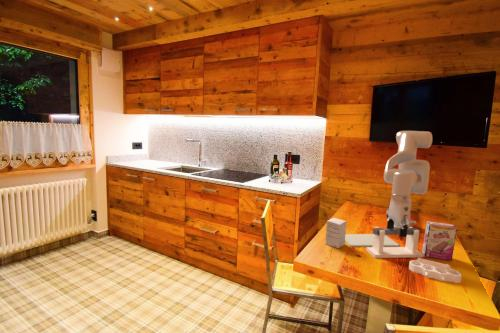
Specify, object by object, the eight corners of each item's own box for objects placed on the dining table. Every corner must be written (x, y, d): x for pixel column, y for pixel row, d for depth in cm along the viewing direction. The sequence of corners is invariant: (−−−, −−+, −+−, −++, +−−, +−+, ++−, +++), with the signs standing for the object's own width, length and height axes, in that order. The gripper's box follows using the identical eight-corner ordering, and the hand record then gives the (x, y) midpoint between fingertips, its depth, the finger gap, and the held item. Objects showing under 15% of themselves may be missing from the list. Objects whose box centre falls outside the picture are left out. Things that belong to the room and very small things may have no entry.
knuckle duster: (457, 272, 116) (462, 289, 103) (409, 260, 125) (408, 274, 112) (458, 264, 115) (464, 281, 103) (409, 253, 124) (409, 267, 112)
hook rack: (411, 249, 136) (414, 225, 134) (423, 257, 128) (426, 232, 126) (365, 250, 133) (368, 225, 132) (374, 257, 126) (377, 232, 124)
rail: (415, 232, 131) (416, 228, 131) (419, 234, 129) (420, 230, 129) (372, 233, 129) (373, 228, 129) (375, 235, 127) (376, 230, 127)
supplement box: (331, 240, 144) (333, 217, 143) (345, 244, 139) (347, 221, 137) (324, 243, 139) (326, 220, 137) (338, 248, 134) (340, 224, 132)
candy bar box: (424, 257, 128) (429, 224, 125) (421, 252, 132) (426, 220, 130) (452, 261, 124) (457, 227, 122) (448, 257, 129) (453, 224, 127)
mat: (383, 235, 153) (383, 234, 153) (399, 246, 139) (399, 244, 139) (339, 235, 151) (339, 234, 150) (350, 246, 137) (350, 245, 137)
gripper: (420, 202, 118) (416, 240, 121) (396, 193, 135) (392, 226, 138) (404, 202, 118) (400, 240, 120) (382, 193, 135) (378, 226, 137)
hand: (396, 232), depth 129 cm, fingers open, 9 cm apart
